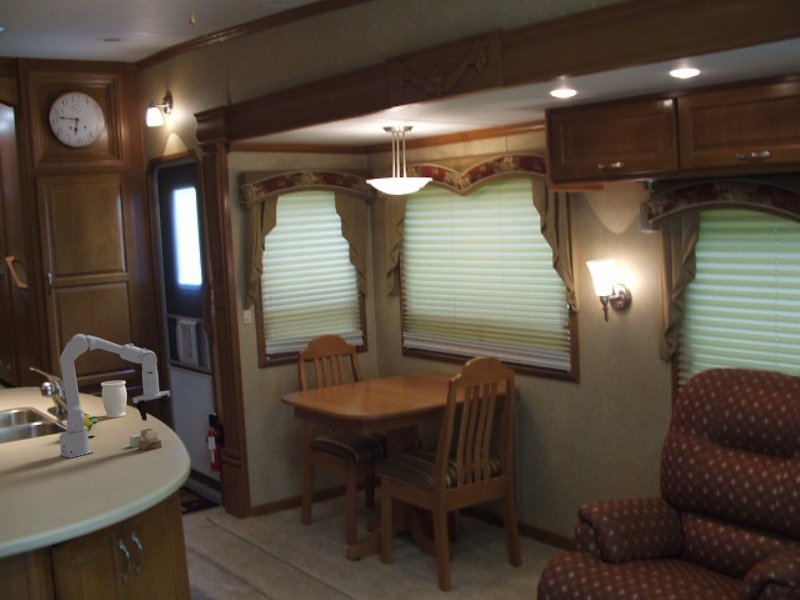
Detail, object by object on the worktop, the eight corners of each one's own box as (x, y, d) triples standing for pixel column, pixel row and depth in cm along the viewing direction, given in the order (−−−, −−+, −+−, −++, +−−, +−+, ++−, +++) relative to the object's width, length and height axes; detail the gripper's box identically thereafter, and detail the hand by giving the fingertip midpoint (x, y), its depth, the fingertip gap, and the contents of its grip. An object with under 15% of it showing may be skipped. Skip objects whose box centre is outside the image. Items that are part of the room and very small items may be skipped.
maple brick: (157, 441, 335) (156, 430, 335) (149, 443, 333) (148, 432, 333) (149, 438, 340) (148, 428, 339) (141, 440, 337) (140, 430, 337)
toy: (82, 434, 383) (68, 440, 353) (79, 411, 383) (65, 415, 354) (104, 431, 384) (92, 436, 355) (101, 408, 385) (89, 411, 355)
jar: (102, 415, 399) (99, 381, 397) (126, 412, 403) (123, 379, 401) (105, 419, 389) (102, 385, 388) (130, 416, 393) (127, 382, 392)
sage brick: (134, 447, 338) (133, 437, 338) (130, 446, 341) (129, 436, 341) (149, 444, 343) (148, 434, 342) (144, 443, 345) (143, 432, 345)
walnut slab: (143, 452, 333) (142, 444, 332) (138, 449, 337) (138, 441, 336) (161, 448, 336) (161, 440, 336) (156, 445, 341) (156, 438, 340)
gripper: (138, 387, 332) (141, 423, 333) (173, 380, 342) (176, 415, 343) (128, 385, 337) (131, 421, 338) (163, 378, 347) (166, 413, 348)
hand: (153, 418), depth 341 cm, fingers open, 7 cm apart
